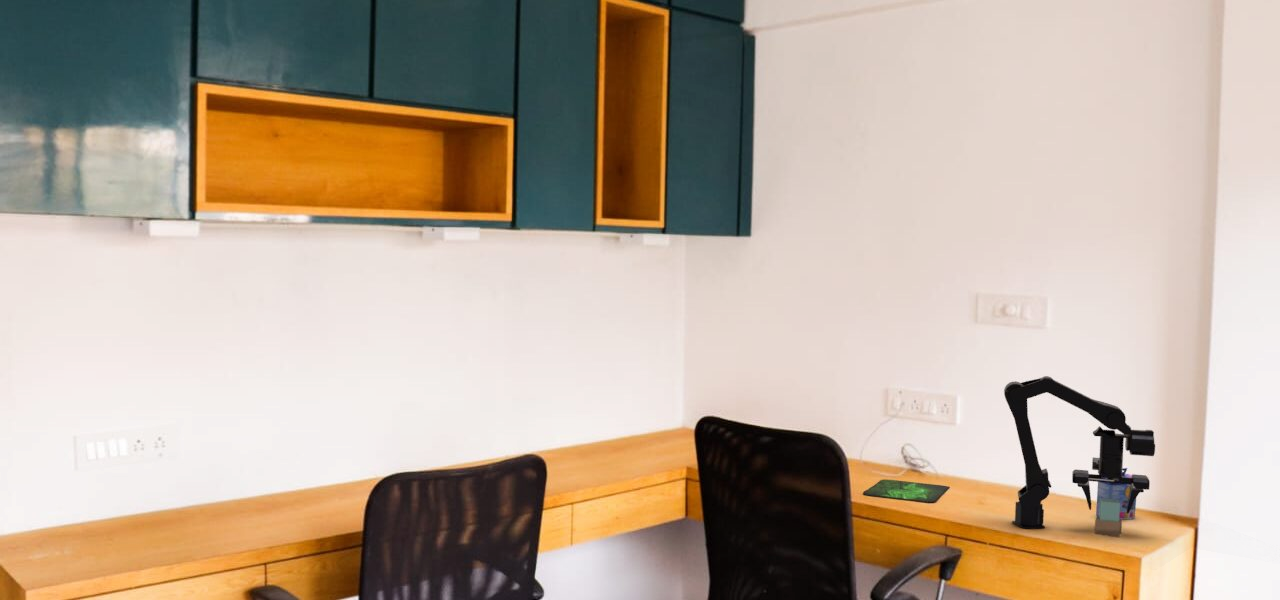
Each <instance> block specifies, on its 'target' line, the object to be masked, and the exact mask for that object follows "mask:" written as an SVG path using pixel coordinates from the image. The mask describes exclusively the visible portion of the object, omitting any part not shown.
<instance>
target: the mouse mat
mask: <svg viewBox="0 0 1280 600" xmlns="http://www.w3.org/2000/svg"><path fill="white" fill-rule="evenodd" d="M949 489H951V487H950V486H947V485H944V484H943V485H941V484H932V483H923V482H914V481H907V480H905V481H904V480H898V479H897V480H896V479H880V480H879V481H878V482H876V483H875V484H874V485H872V486H871V487H869V488H867V489H866V490H864V491H863V492H862V494H863V495H864V496H867V497H876V498H884V499H893V500H902V501H911V502H919V503H920V502H921V503H928V504H929V503H931V504H932V503H936V502H937V501H938V500H939V499H940V498H941V497H942V496H943V495H945V493H946V492H948V490H949Z"/></svg>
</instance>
